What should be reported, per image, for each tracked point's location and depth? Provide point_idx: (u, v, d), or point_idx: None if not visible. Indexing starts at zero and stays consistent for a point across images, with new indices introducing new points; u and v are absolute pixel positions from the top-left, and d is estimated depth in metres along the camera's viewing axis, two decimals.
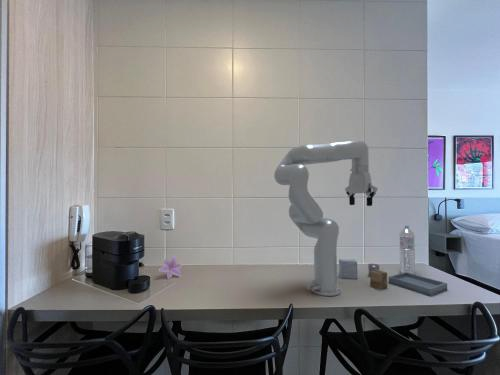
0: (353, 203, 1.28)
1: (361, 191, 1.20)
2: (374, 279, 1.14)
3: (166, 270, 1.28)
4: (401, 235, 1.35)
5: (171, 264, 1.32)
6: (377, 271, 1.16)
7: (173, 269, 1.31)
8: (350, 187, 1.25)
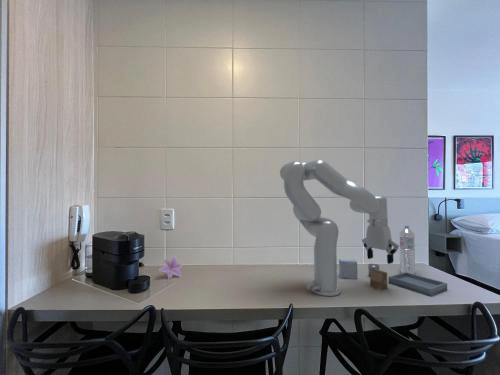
0: (371, 256, 1.20)
1: (381, 247, 1.12)
2: (374, 279, 1.14)
3: (166, 270, 1.28)
4: (401, 235, 1.35)
5: (172, 264, 1.32)
6: (377, 271, 1.16)
7: (173, 269, 1.31)
8: (368, 240, 1.17)
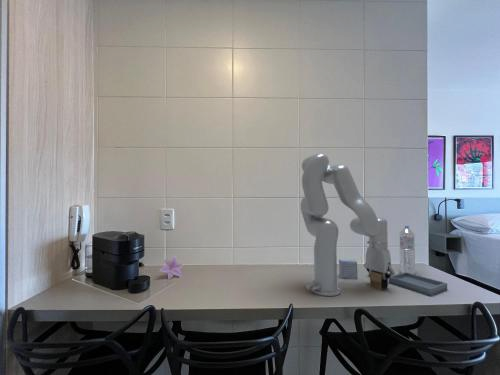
0: None
1: (380, 270, 1.11)
2: (374, 279, 1.14)
3: (167, 270, 1.28)
4: (401, 235, 1.35)
5: (172, 264, 1.32)
6: None
7: (173, 269, 1.31)
8: (367, 262, 1.17)
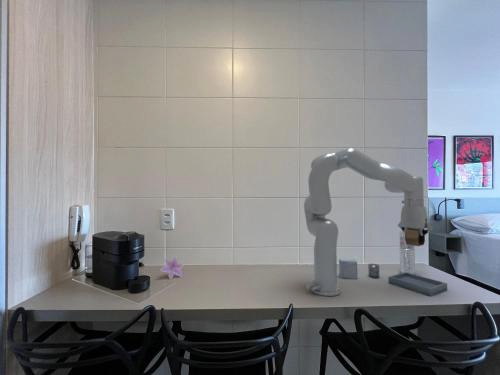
0: None
1: (417, 227, 1.13)
2: (410, 236, 1.16)
3: (168, 270, 1.28)
4: (401, 235, 1.35)
5: (173, 265, 1.32)
6: (413, 229, 1.17)
7: (174, 269, 1.31)
8: (403, 221, 1.18)
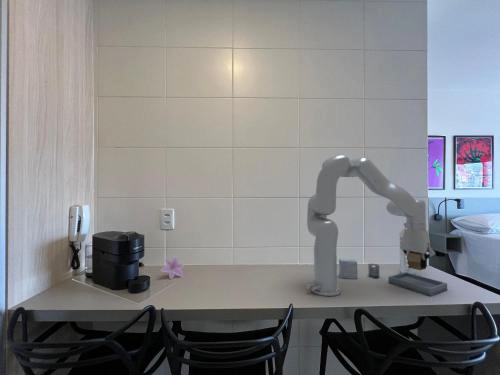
0: None
1: (419, 251, 1.12)
2: (412, 259, 1.15)
3: (168, 270, 1.28)
4: (401, 235, 1.35)
5: (173, 265, 1.32)
6: (415, 252, 1.17)
7: (174, 269, 1.31)
8: (405, 244, 1.18)
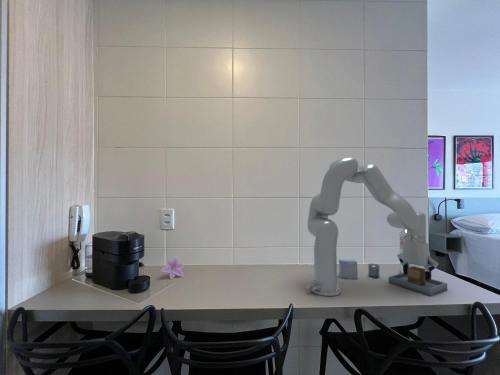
0: (407, 272, 1.20)
1: (419, 264, 1.12)
2: (412, 275, 1.15)
3: (169, 270, 1.28)
4: (401, 235, 1.35)
5: (173, 265, 1.32)
6: (415, 267, 1.17)
7: (175, 269, 1.31)
8: (405, 256, 1.18)
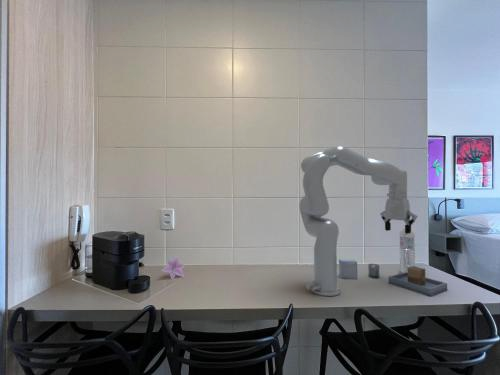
0: (389, 229, 1.25)
1: (399, 218, 1.17)
2: (412, 275, 1.15)
3: (169, 270, 1.28)
4: (401, 235, 1.35)
5: (174, 265, 1.32)
6: (415, 267, 1.17)
7: (175, 269, 1.31)
8: (387, 213, 1.23)
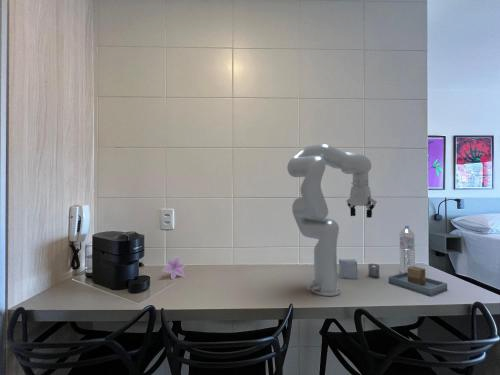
0: (354, 214, 1.37)
1: (361, 204, 1.29)
2: (412, 275, 1.15)
3: (170, 270, 1.28)
4: (401, 235, 1.35)
5: (174, 265, 1.32)
6: (415, 267, 1.17)
7: (176, 269, 1.31)
8: (351, 199, 1.35)
